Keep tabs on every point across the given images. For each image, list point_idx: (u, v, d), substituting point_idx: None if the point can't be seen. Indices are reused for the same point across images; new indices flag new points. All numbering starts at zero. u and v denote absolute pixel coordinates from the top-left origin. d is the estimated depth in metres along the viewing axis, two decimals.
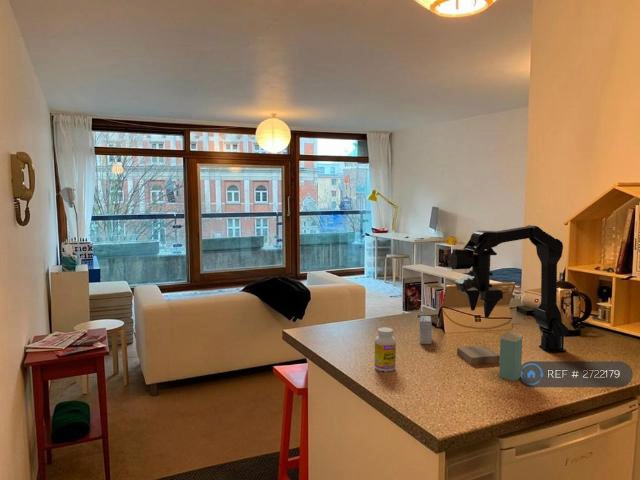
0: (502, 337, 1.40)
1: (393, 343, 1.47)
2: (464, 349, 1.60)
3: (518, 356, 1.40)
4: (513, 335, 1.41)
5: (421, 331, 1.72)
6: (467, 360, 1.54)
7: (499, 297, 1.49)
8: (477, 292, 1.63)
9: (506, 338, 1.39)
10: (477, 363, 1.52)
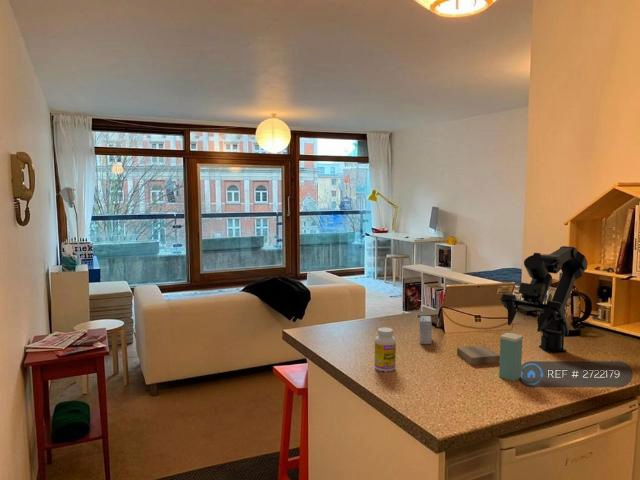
0: (502, 337, 1.40)
1: (393, 343, 1.47)
2: (464, 349, 1.60)
3: (518, 356, 1.40)
4: (513, 335, 1.41)
5: (421, 331, 1.72)
6: (467, 360, 1.54)
7: (563, 315, 1.44)
8: (515, 311, 1.54)
9: (506, 338, 1.39)
10: (477, 363, 1.52)
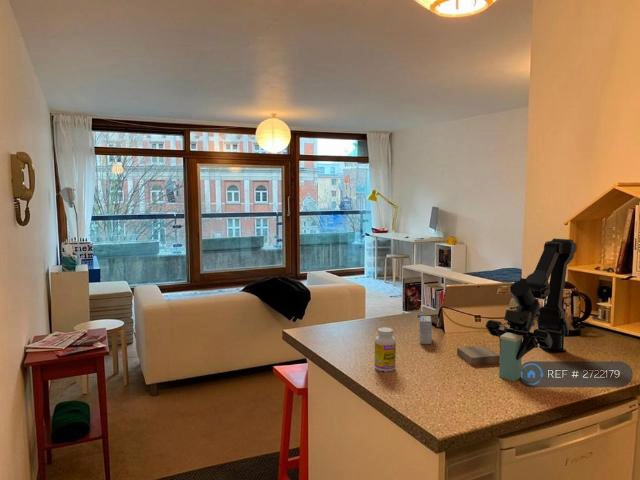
0: (502, 337, 1.40)
1: (393, 343, 1.47)
2: (464, 349, 1.60)
3: None
4: (513, 335, 1.41)
5: (421, 331, 1.72)
6: (467, 360, 1.54)
7: (550, 344, 1.38)
8: None
9: (506, 338, 1.39)
10: (477, 363, 1.52)
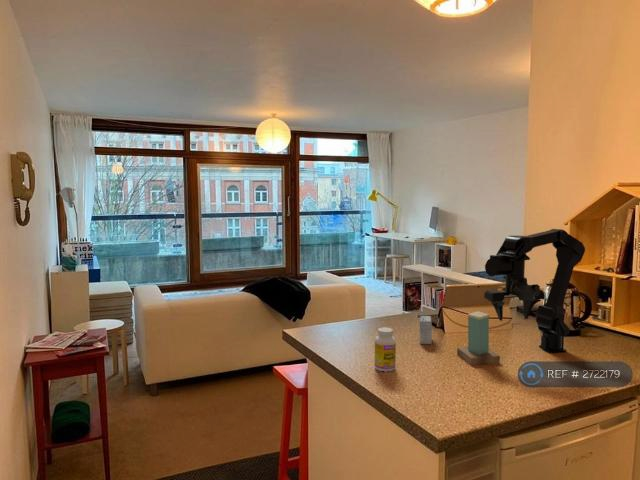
0: (469, 315, 1.56)
1: (393, 343, 1.47)
2: (464, 349, 1.60)
3: (484, 333, 1.54)
4: (480, 314, 1.56)
5: (421, 331, 1.72)
6: (467, 360, 1.54)
7: None
8: None
9: (472, 316, 1.55)
10: (477, 363, 1.52)
